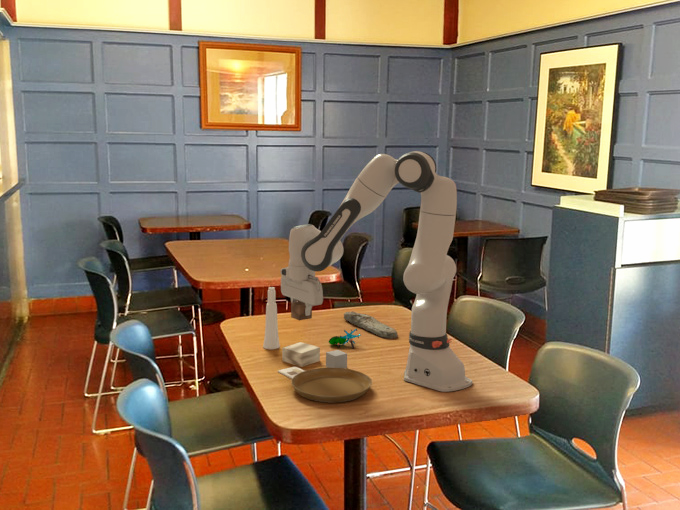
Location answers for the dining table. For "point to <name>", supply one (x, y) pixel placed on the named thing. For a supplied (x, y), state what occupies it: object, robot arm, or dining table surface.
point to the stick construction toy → (344, 339)
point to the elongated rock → (370, 324)
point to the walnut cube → (299, 311)
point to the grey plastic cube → (336, 359)
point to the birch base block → (301, 354)
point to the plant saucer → (331, 384)
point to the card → (291, 371)
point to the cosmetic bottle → (271, 322)
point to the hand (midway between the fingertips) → (301, 313)
